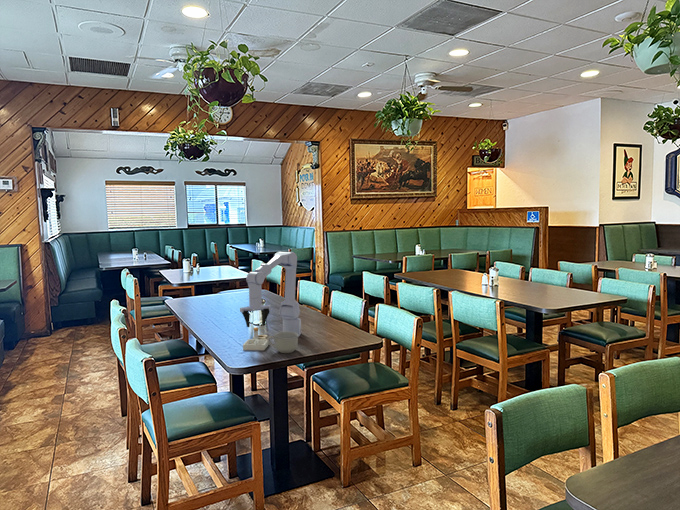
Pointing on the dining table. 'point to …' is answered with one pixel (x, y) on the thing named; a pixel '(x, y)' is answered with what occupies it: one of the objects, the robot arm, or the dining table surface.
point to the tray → (250, 345)
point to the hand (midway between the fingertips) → (255, 325)
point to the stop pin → (256, 335)
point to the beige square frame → (262, 337)
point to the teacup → (285, 341)
